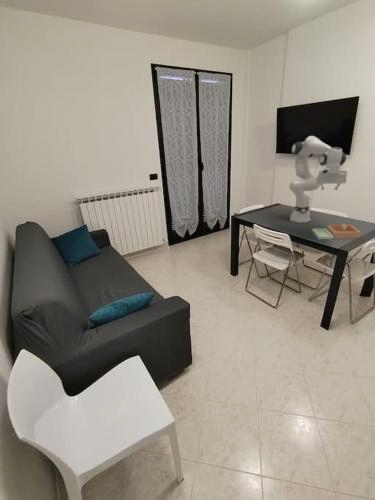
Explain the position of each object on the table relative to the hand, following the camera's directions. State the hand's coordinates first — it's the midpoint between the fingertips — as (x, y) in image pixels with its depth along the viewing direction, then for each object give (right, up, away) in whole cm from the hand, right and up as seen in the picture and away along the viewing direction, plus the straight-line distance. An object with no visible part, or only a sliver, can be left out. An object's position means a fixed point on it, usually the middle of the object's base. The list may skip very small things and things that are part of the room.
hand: (329, 189), depth 185 cm
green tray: (0, -35, +10) cm, 36 cm away
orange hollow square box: (+15, -35, +8) cm, 38 cm away
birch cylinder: (+15, -34, +7) cm, 37 cm away
